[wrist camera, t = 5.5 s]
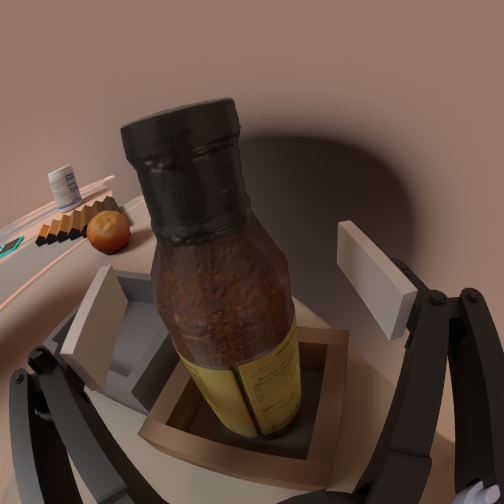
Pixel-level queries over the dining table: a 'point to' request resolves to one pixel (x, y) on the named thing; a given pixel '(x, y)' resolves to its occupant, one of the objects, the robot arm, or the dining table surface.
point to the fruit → (108, 231)
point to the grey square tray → (134, 347)
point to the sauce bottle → (217, 267)
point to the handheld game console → (10, 246)
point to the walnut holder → (249, 462)
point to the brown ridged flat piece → (74, 223)
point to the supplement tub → (65, 189)
